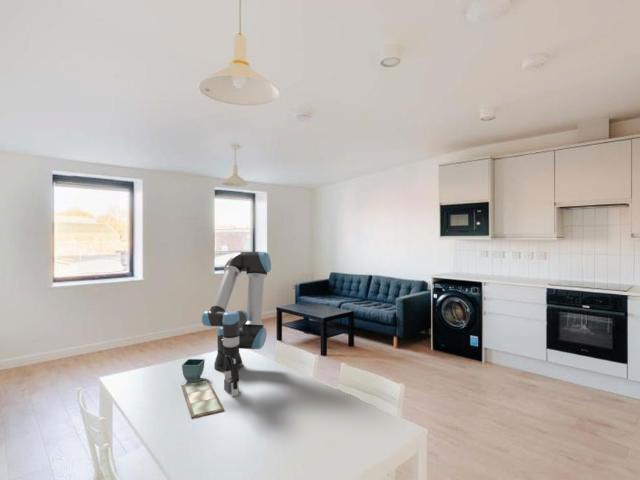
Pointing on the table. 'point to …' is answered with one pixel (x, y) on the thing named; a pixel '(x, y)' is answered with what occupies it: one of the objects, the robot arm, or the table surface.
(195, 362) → the flower pot
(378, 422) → the table surface
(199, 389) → the board
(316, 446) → the table surface
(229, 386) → the gray block
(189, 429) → the table surface
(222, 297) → the robot arm
